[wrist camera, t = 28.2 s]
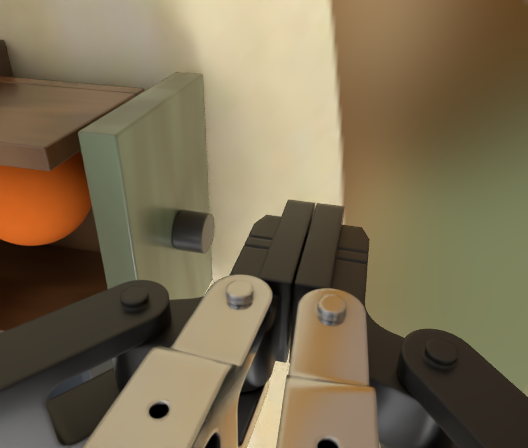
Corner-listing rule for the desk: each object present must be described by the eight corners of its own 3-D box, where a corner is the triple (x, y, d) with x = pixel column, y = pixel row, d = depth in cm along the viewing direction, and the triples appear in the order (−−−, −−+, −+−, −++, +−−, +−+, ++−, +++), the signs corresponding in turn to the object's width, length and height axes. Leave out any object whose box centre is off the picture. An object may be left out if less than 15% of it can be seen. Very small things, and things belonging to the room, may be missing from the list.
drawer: (232, 75, 19) (156, 139, 13) (235, 282, 24) (183, 398, 18) (-61, 53, 21) (-242, 97, 15) (1, 245, 27) (-115, 336, 20)
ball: (112, 247, 21) (25, 265, 17) (30, 228, 23) (-70, 239, 18) (122, 140, 21) (34, 129, 16) (37, 128, 22) (-65, 114, 18)
